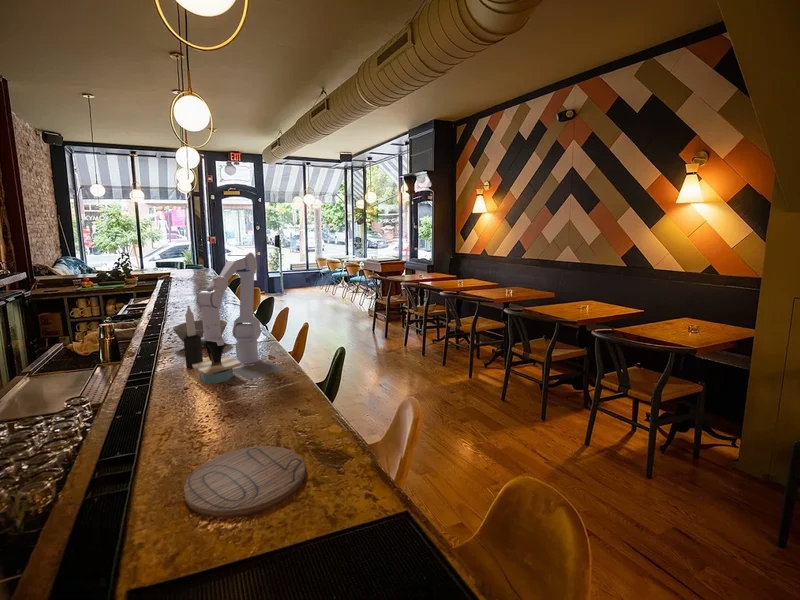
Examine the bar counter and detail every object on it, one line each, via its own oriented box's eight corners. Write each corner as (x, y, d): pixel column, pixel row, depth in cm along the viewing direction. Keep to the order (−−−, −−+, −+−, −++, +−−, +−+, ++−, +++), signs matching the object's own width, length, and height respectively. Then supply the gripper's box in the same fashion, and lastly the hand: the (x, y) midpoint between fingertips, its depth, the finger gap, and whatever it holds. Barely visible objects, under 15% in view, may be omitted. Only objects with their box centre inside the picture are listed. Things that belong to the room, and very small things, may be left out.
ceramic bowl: (175, 343, 215) (173, 322, 213) (227, 337, 225) (225, 317, 223) (174, 355, 195) (171, 333, 193) (231, 348, 205) (229, 326, 203)
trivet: (263, 443, 117) (262, 436, 116) (328, 475, 101) (328, 468, 101) (163, 488, 98) (162, 480, 97) (224, 537, 82) (223, 528, 82)
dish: (198, 380, 164) (196, 369, 163) (225, 373, 170) (224, 363, 170) (208, 387, 156) (207, 376, 156) (236, 379, 163) (235, 369, 162)
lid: (192, 367, 163) (190, 353, 162) (228, 357, 172) (226, 345, 171) (204, 375, 154) (202, 361, 153) (241, 365, 162) (239, 352, 161)
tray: (231, 371, 172) (231, 369, 172) (268, 362, 182) (267, 360, 182) (248, 380, 161) (248, 379, 161) (286, 370, 171) (286, 369, 171)
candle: (204, 366, 180) (198, 304, 175) (197, 370, 175) (191, 306, 170) (192, 366, 180) (185, 304, 176) (185, 370, 175) (178, 306, 171)
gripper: (192, 323, 162) (196, 359, 165) (207, 329, 152) (211, 368, 154) (212, 319, 167) (216, 355, 169) (228, 326, 156) (231, 363, 159)
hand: (215, 361), depth 162 cm, fingers closed on lid, 3 cm apart
